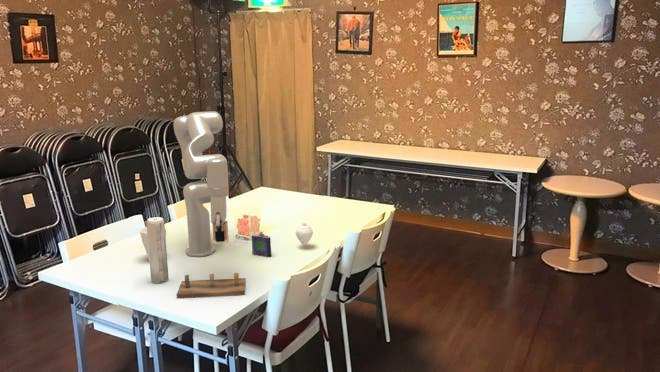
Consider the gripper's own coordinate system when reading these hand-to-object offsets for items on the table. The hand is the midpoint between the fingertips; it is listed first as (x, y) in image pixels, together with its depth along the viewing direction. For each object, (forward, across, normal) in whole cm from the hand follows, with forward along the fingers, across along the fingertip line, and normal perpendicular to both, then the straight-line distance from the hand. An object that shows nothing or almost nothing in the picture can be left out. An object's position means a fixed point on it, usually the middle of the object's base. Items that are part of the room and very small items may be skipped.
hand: (221, 238), depth 206 cm
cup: (+18, -29, -31) cm, 46 cm away
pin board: (+18, +5, -4) cm, 19 cm away
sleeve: (+1, 0, 0) cm, 1 cm away
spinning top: (+18, -37, +33) cm, 52 cm away
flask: (+18, -30, +14) cm, 37 cm away
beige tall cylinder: (+18, -6, -25) cm, 31 cm away
